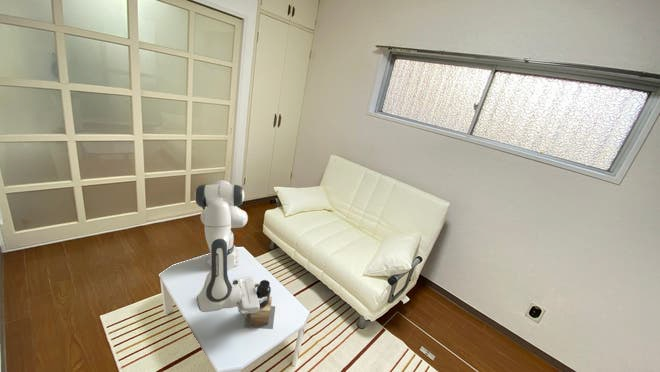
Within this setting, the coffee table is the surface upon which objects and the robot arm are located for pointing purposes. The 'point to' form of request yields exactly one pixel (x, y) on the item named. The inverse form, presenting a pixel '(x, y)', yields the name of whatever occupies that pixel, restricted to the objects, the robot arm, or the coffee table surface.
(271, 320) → the mat
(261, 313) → the tower top
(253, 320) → the tower base
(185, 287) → the coffee table surface
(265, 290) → the supplement bottle
